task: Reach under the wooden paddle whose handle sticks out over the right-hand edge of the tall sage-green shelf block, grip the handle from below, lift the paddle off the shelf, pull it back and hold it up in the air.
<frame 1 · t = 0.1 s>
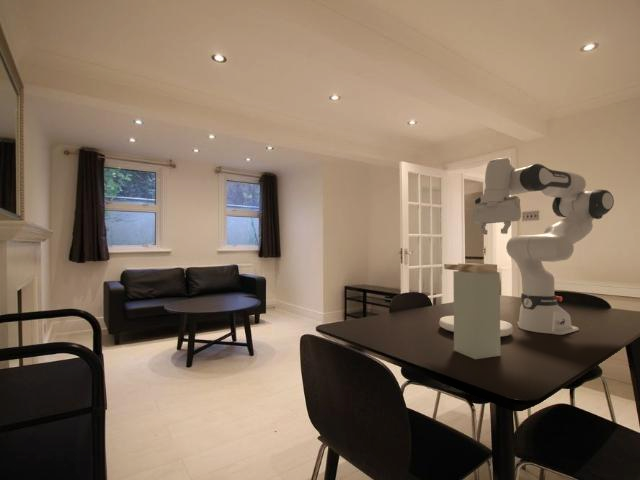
hand: (493, 234, 128), 39 cm above the table, tool pointing down, fingers open, 8 cm apart
wooden paddle: (466, 270, 110), point 26 cm above the table, touching shelf block
plate: (474, 333, 131), on the table
shelf block: (476, 352, 105), on the table
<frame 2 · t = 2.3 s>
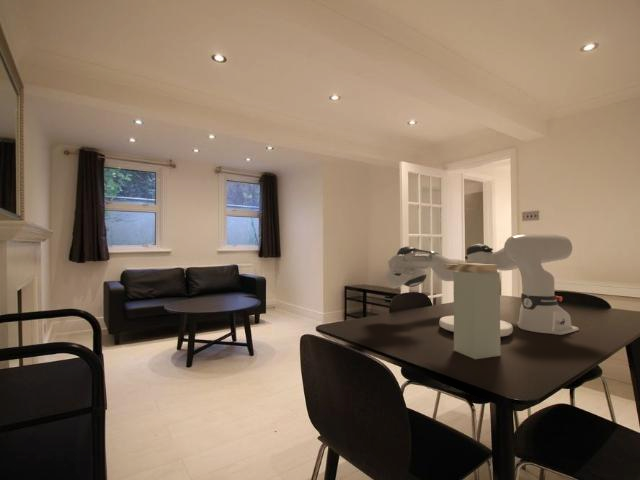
hand: (423, 253, 132), 31 cm above the table, tool pointing upward, fingers open, 8 cm apart
nothing on the table moved.
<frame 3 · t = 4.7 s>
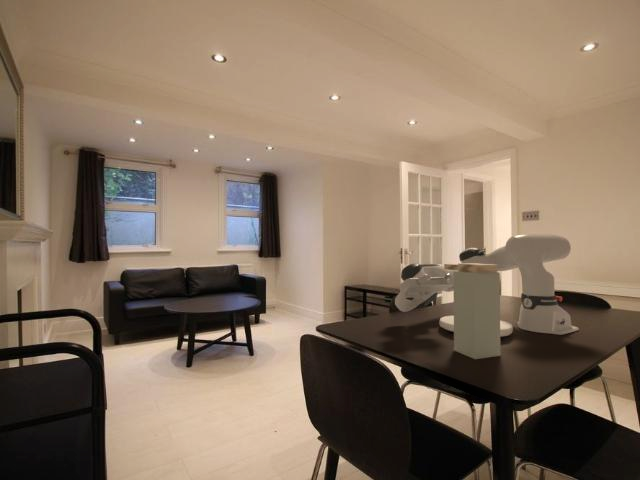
hand: (438, 276, 122), 23 cm above the table, tool pointing upward, fingers open, 8 cm apart
nothing on the table moved.
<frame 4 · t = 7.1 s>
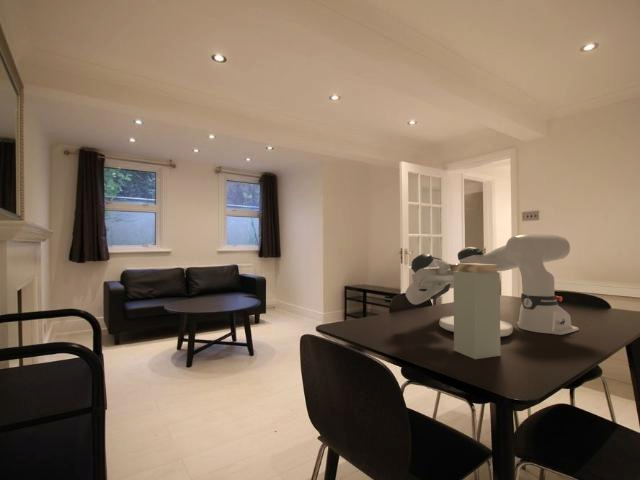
hand: (454, 265, 115), 27 cm above the table, tool pointing upward, fingers closed on wooden paddle, 2 cm apart
wooden paddle: (466, 270, 110), point 26 cm above the table, touching gripper, shelf block
everything else where it was.
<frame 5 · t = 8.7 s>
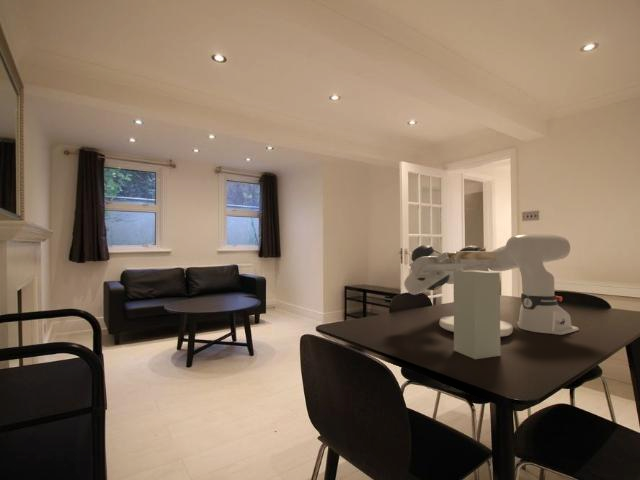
hand: (452, 254, 116), 31 cm above the table, tool pointing upward, fingers closed on wooden paddle, 2 cm apart
wooden paddle: (464, 258, 110), point 30 cm above the table, touching gripper
everything else where it was.
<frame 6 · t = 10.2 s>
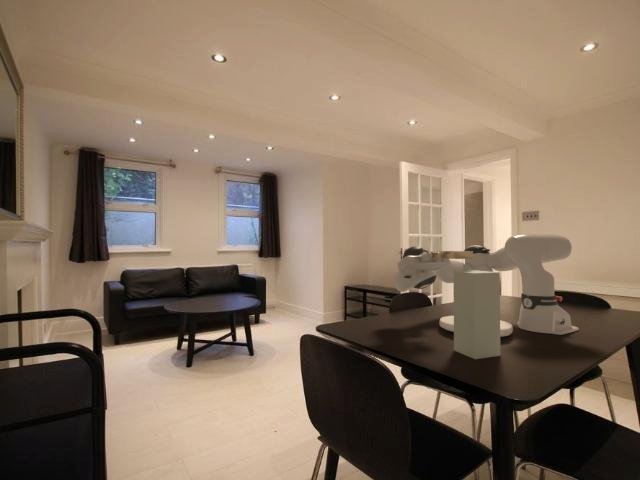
hand: (436, 253, 124), 31 cm above the table, tool pointing upward, fingers closed on wooden paddle, 2 cm apart
wooden paddle: (446, 257, 119), point 30 cm above the table, touching gripper
everything else where it was.
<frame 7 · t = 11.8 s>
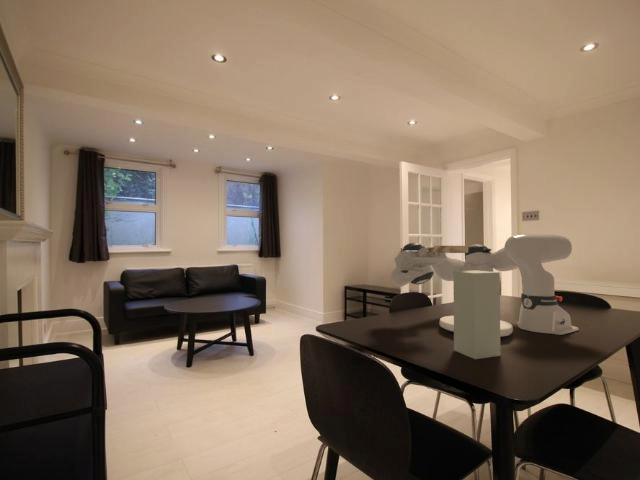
hand: (432, 248, 127), 33 cm above the table, tool pointing upward, fingers closed on wooden paddle, 2 cm apart
wooden paddle: (442, 252, 121), point 32 cm above the table, touching gripper
everything else where it was.
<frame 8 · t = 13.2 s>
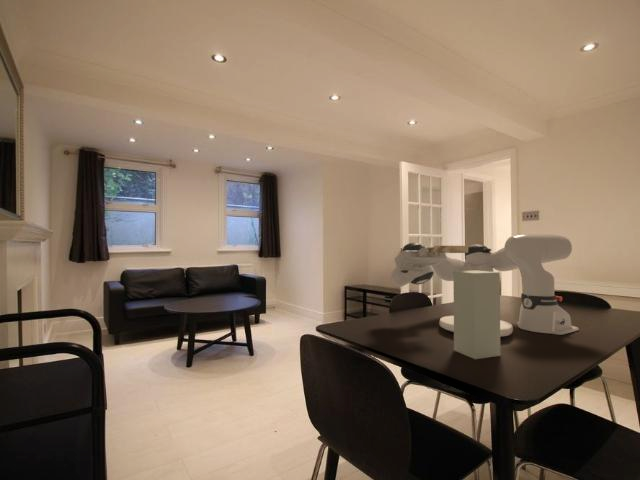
hand: (432, 248, 127), 33 cm above the table, tool pointing upward, fingers closed on wooden paddle, 2 cm apart
wooden paddle: (442, 252, 121), point 32 cm above the table, touching gripper
everything else where it was.
at the end: the gripper is holding wooden paddle; wooden paddle touching gripper; wooden paddle inside the target area (2.1 cm from its centre), point 31.9 cm above the table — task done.
